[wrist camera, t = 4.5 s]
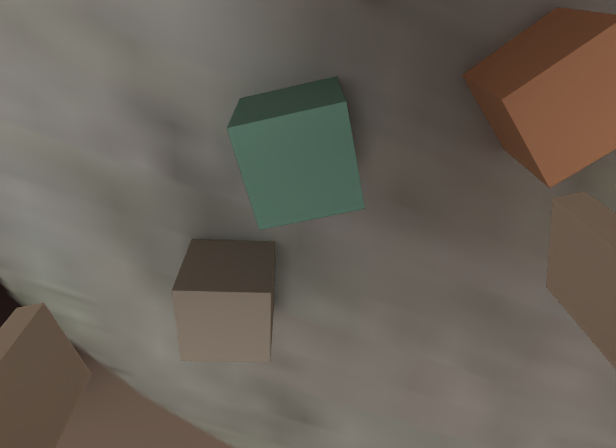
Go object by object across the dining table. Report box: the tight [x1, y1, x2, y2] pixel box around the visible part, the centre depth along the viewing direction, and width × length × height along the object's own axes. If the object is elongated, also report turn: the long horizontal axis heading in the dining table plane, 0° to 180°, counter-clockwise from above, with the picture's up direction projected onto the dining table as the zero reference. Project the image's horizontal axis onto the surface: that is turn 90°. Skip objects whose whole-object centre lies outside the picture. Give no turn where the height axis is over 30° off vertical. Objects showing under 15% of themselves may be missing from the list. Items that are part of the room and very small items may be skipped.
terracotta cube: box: [462, 7, 616, 188], centre depth 20 cm, size 5×5×5 cm
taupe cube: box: [172, 239, 275, 362], centre depth 26 cm, size 5×5×5 cm
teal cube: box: [227, 77, 365, 230], centre depth 21 cm, size 5×5×5 cm
